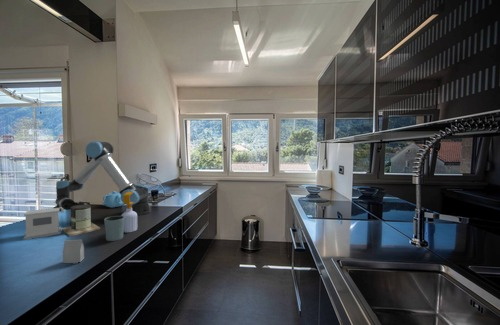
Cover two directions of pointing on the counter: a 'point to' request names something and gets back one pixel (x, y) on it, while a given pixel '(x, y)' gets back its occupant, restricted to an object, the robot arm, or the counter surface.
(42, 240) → the counter surface
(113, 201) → the decorative pot
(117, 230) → the green tapered cup
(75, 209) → the coffee can
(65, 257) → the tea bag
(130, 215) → the spray bottle
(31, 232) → the label unit
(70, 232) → the pad
